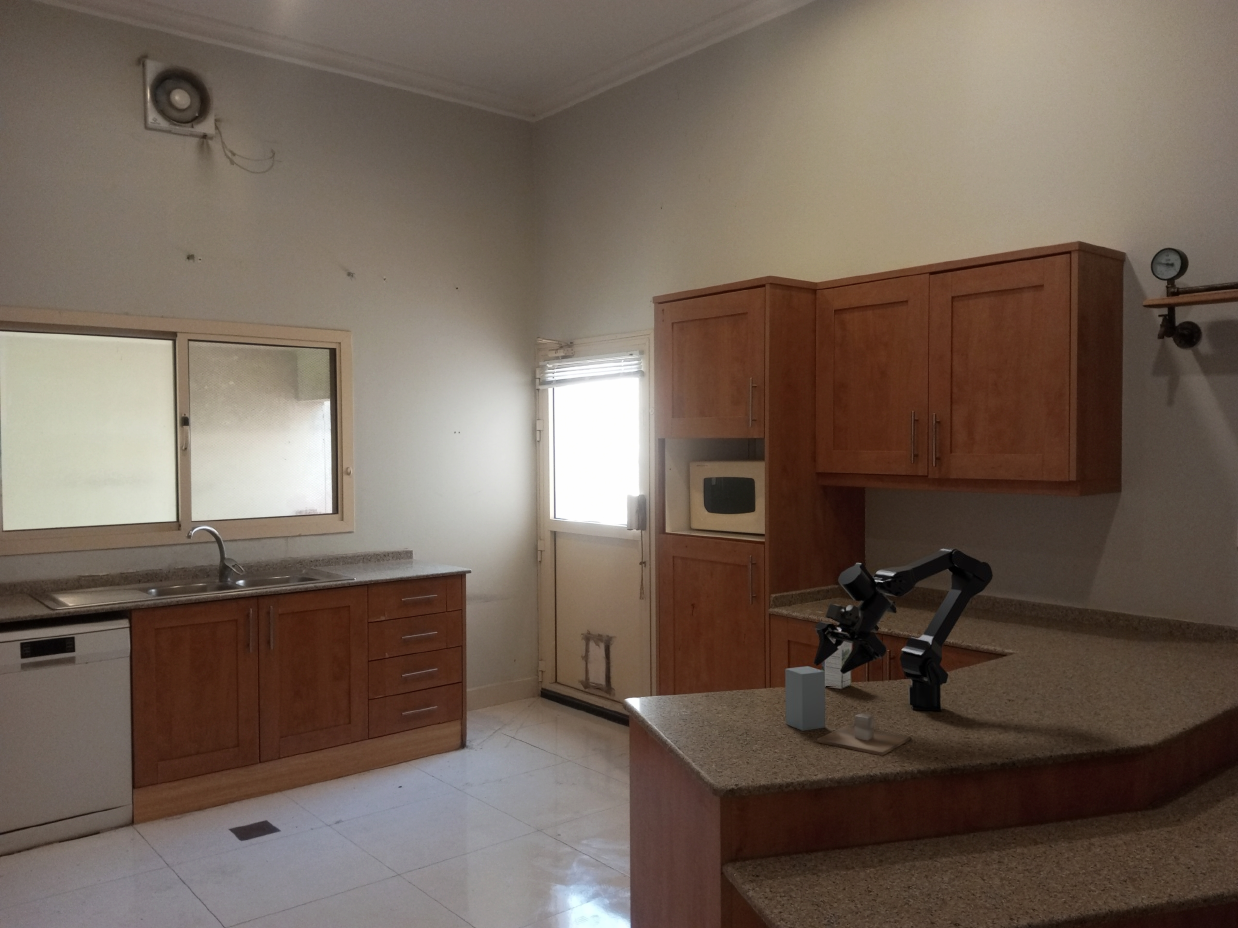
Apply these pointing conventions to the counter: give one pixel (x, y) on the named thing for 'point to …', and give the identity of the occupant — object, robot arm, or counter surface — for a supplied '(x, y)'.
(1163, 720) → the counter surface
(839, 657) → the syrup box
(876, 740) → the post base
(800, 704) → the tall slate pillar
